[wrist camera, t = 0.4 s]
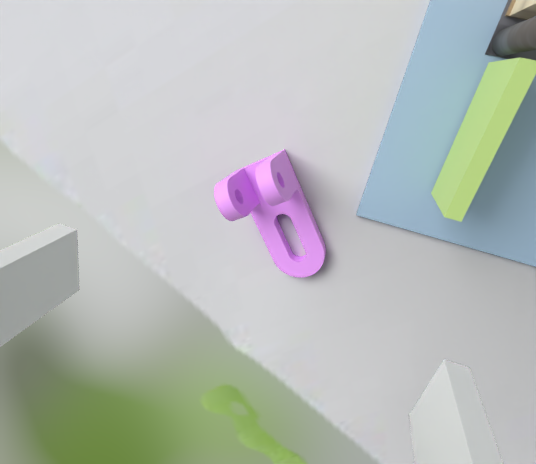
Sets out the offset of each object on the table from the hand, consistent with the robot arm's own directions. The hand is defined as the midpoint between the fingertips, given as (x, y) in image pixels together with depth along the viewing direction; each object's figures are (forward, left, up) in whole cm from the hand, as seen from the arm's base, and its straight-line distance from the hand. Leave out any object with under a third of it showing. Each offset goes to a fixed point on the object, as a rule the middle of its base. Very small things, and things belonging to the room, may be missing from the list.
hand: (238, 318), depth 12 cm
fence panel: (-6, +10, -23) cm, 26 cm away
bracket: (+6, -2, -24) cm, 25 cm away
